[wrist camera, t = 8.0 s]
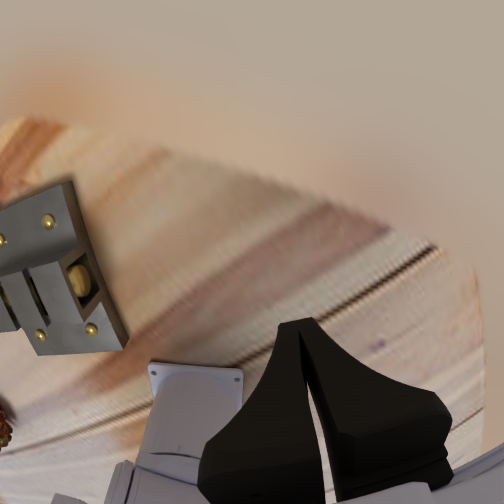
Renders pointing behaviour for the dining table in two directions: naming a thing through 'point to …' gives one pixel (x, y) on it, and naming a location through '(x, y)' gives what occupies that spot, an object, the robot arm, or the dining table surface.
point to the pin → (78, 281)
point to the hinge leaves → (53, 278)
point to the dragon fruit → (4, 430)
